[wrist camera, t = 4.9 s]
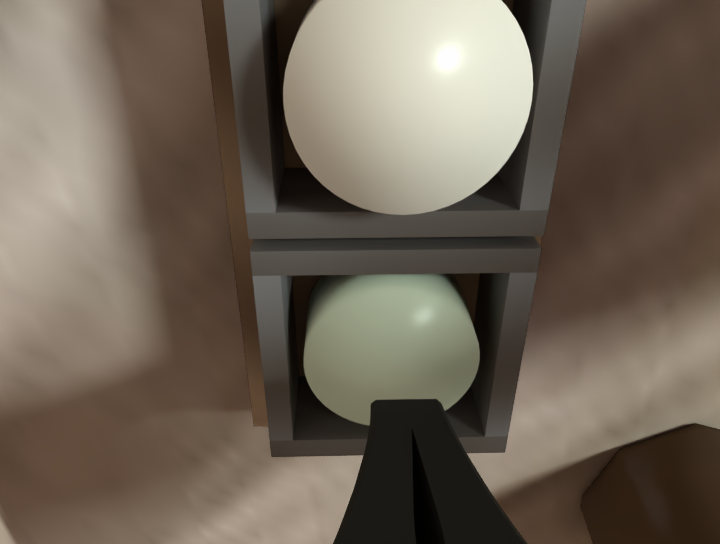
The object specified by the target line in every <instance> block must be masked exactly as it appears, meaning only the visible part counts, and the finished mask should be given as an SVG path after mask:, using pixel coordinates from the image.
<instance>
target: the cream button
mask: <svg viewBox="0 0 720 544" xmlns="http://www.w3.org/2000/svg"><path fill="white" fill-rule="evenodd" d="M532 93H533V72H532V63H531V58H530V53H529V49H528V46H527V43H526V40H525V37H524V34H523V32H522V30H521V28H520V26H519V24H518V22H517V20H516V19H515V17H514V16H513V15H512V13H511V12H510V10H509V9H508V7H507V6H506V5H505V4H504V3H503V2H502V1H501V0H314V1H313V3H312V4H311V5H310V7H309V9H308V11H307V12H306V14H305V16H304V18H303V20H302V22H301V25H300V27H299V30H298V32H297V35H296V38H295V40H294V43H293V46H292V49H291V52H290V55H289V58H288V62H287V66H286V70H285V77H284V85H283V105H284V112H285V119H286V123H287V127H288V131H289V134H290V137H291V139H292V142H293V144H294V147H295V149H296V151H297V153H298V154H299V156H300V158H301V160H302V161H303V163H304V164H305V166H306V167H307V168H308V169H309V171H310V172H311V173H312V175H313V176H314V177H315V178H316V179H317V180H318V181H319V182H320V183H321V184H322V185H323V186H325V187H326V188H327V189H328V190H330V191H331V192H332V193H334V194H335V195H336V196H338V197H340V198H342V199H343V200H345V201H347V202H349V203H351V204H353V205H356V206H358V207H360V208H363V209H367V210H370V211H373V212H378V213H384V214H393V215H410V214H421V213H426V212H431V211H435V210H438V209H441V208H444V207H447V206H450V205H452V204H454V203H456V202H459V201H461V200H463V199H464V198H466V197H468V196H469V195H471V194H473V193H474V192H476V191H477V190H478V189H479V188H481V187H482V186H483V185H485V184H486V183H487V182H488V181H489V180H490V179H491V178H492V177H493V176H494V175H495V174H496V173H497V172H498V171H499V170H500V169H501V168H502V166H503V165H504V164H505V163H506V162H507V160H508V159H509V157H510V156H511V154H512V153H513V151H514V149H515V148H516V146H517V144H518V142H519V140H520V138H521V136H522V134H523V132H524V129H525V126H526V123H527V120H528V117H529V112H530V107H531V102H532Z"/></svg>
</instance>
